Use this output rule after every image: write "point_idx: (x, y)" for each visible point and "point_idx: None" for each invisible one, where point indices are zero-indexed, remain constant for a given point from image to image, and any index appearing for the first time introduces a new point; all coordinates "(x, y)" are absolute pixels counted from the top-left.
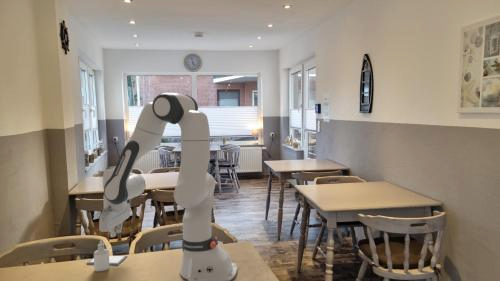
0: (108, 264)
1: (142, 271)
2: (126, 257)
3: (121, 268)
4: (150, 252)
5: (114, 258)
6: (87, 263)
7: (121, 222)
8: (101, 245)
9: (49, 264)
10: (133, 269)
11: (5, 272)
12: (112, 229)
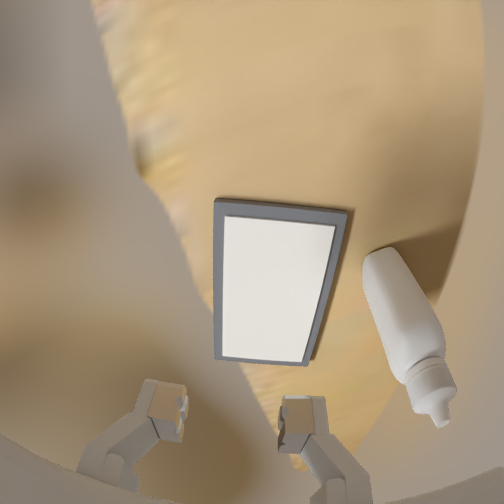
0: (404, 262)
1: (434, 34)
2: (225, 200)
3: (389, 175)
4: (122, 68)
5: (262, 267)
6: (308, 362)
7: (136, 494)
8: (456, 388)
9: None
10: (409, 93)
11: None
12: (369, 485)
